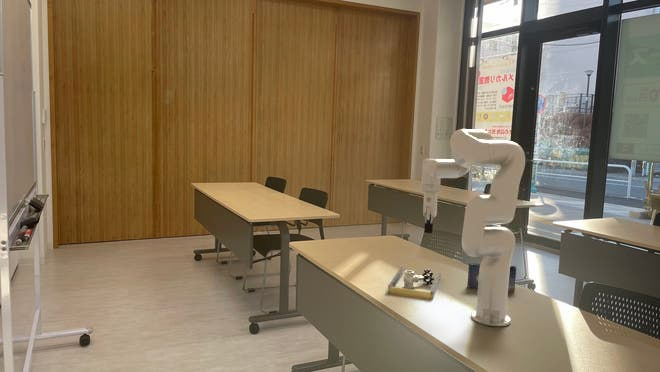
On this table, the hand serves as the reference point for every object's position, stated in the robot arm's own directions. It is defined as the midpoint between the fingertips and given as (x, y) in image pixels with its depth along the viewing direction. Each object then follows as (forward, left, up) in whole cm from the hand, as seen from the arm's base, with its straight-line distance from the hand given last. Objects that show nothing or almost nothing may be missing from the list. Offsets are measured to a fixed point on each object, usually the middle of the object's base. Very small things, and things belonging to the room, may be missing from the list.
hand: (428, 232), depth 205 cm
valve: (-9, +2, -21) cm, 23 cm away
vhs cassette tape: (0, -26, -21) cm, 33 cm away
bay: (-9, +3, -21) cm, 22 cm away
